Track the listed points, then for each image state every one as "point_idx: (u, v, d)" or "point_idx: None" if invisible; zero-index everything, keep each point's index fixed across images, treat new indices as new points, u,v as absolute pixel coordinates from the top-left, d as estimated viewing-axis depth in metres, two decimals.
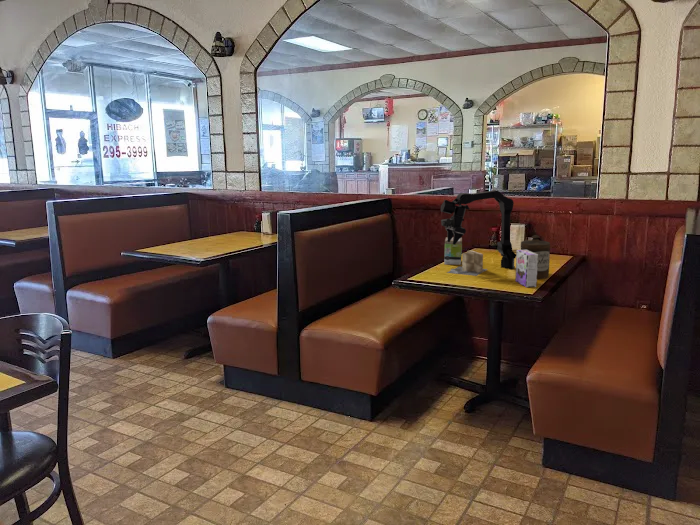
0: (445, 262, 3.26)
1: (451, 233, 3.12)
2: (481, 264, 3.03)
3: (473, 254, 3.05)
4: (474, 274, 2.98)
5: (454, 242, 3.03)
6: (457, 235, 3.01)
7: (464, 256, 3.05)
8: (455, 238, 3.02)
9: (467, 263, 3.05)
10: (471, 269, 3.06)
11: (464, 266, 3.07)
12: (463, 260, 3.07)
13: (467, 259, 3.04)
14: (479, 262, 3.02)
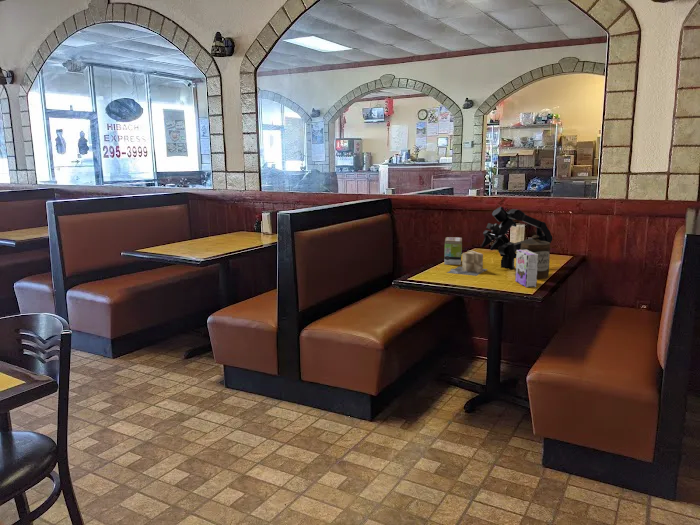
0: (445, 262, 3.26)
1: (487, 241, 3.14)
2: (481, 264, 3.03)
3: (473, 254, 3.05)
4: (474, 274, 2.98)
5: (492, 248, 3.04)
6: (498, 243, 3.04)
7: (464, 256, 3.05)
8: (495, 245, 3.04)
9: (467, 263, 3.05)
10: (471, 269, 3.06)
11: (464, 266, 3.07)
12: (463, 260, 3.07)
13: (467, 259, 3.04)
14: (479, 262, 3.02)
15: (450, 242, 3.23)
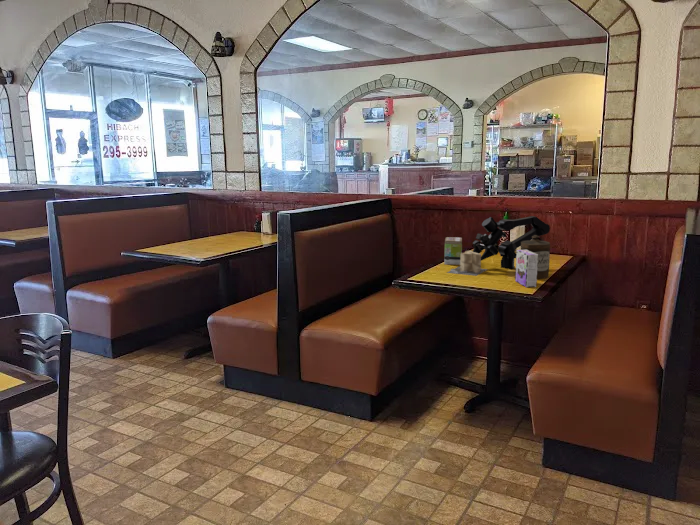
0: (445, 262, 3.26)
1: (477, 251, 3.13)
2: (479, 264, 3.02)
3: (471, 254, 3.04)
4: (474, 274, 2.98)
5: (481, 258, 3.03)
6: (487, 253, 3.03)
7: (462, 256, 3.05)
8: (484, 255, 3.03)
9: (465, 263, 3.04)
10: (469, 269, 3.06)
11: (462, 266, 3.06)
12: (461, 260, 3.06)
13: (465, 259, 3.04)
14: (477, 262, 3.02)
15: (450, 242, 3.23)
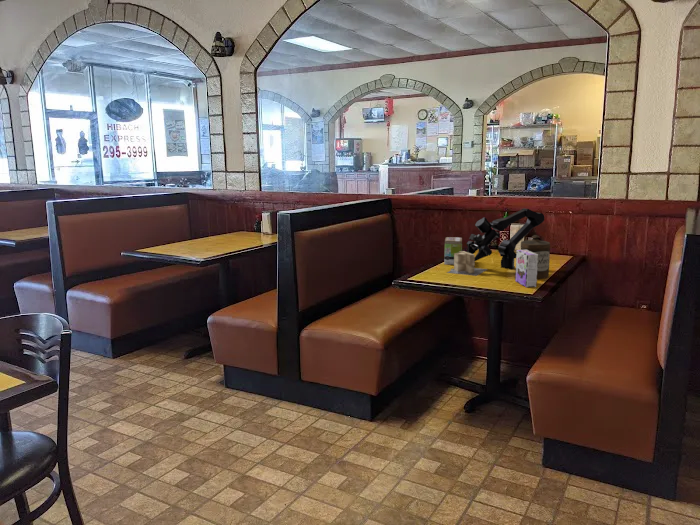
0: (445, 262, 3.26)
1: (471, 251, 3.12)
2: (473, 265, 3.01)
3: (465, 255, 3.03)
4: (474, 274, 2.98)
5: (475, 259, 3.02)
6: (481, 254, 3.02)
7: (456, 257, 3.04)
8: (477, 256, 3.01)
9: (459, 264, 3.03)
10: (463, 270, 3.04)
11: (455, 267, 3.05)
12: (455, 261, 3.05)
13: (459, 260, 3.03)
14: (471, 263, 3.01)
15: (450, 242, 3.23)
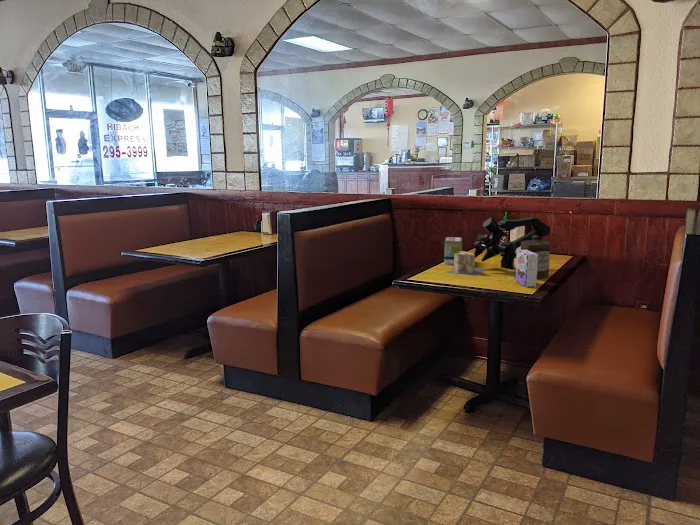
0: (445, 262, 3.26)
1: (479, 252, 3.13)
2: (473, 265, 3.01)
3: (465, 255, 3.03)
4: (474, 274, 2.98)
5: (483, 259, 3.04)
6: (489, 254, 3.03)
7: (456, 257, 3.04)
8: (486, 256, 3.03)
9: (459, 264, 3.03)
10: (463, 270, 3.04)
11: (455, 267, 3.05)
12: (455, 261, 3.05)
13: (459, 260, 3.03)
14: (471, 263, 3.01)
15: (450, 242, 3.23)
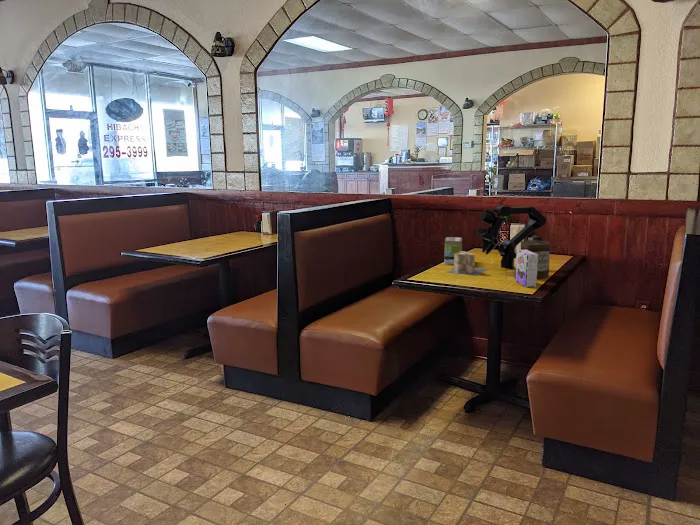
0: (445, 262, 3.26)
1: (490, 246, 3.13)
2: (473, 265, 3.01)
3: (465, 255, 3.03)
4: (474, 274, 2.98)
5: (483, 250, 3.04)
6: (486, 243, 3.03)
7: (456, 257, 3.04)
8: (484, 246, 3.04)
9: (459, 264, 3.03)
10: (463, 270, 3.04)
11: (455, 267, 3.05)
12: (455, 261, 3.05)
13: (459, 260, 3.03)
14: (471, 263, 3.01)
15: (450, 242, 3.23)
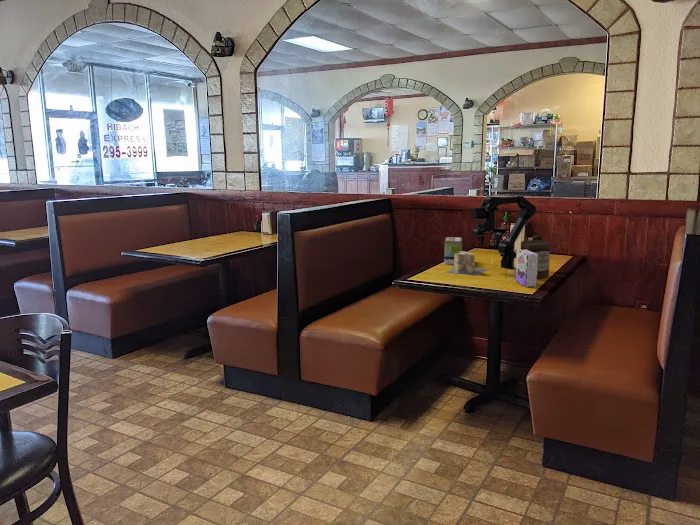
0: (445, 262, 3.26)
1: (497, 237, 3.09)
2: (473, 265, 3.01)
3: (465, 255, 3.03)
4: (474, 274, 2.98)
5: (481, 245, 3.08)
6: (480, 238, 3.06)
7: (456, 257, 3.04)
8: (479, 241, 3.07)
9: (459, 264, 3.03)
10: (463, 270, 3.04)
11: (455, 267, 3.05)
12: (455, 261, 3.05)
13: (459, 260, 3.03)
14: (471, 263, 3.01)
15: (450, 242, 3.23)
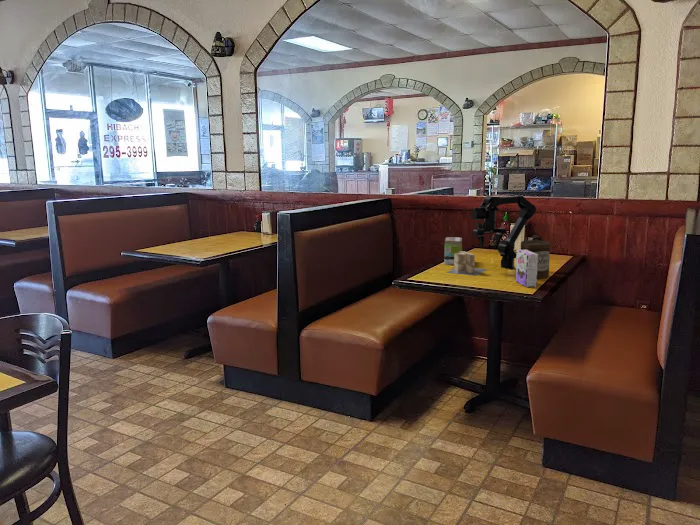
0: (445, 262, 3.26)
1: (497, 237, 3.09)
2: (473, 265, 3.01)
3: (465, 255, 3.03)
4: (474, 274, 2.98)
5: (481, 245, 3.08)
6: (480, 238, 3.06)
7: (456, 257, 3.04)
8: (479, 241, 3.07)
9: (459, 264, 3.03)
10: (463, 270, 3.04)
11: (455, 267, 3.05)
12: (455, 261, 3.05)
13: (459, 260, 3.03)
14: (471, 263, 3.01)
15: (450, 242, 3.23)
